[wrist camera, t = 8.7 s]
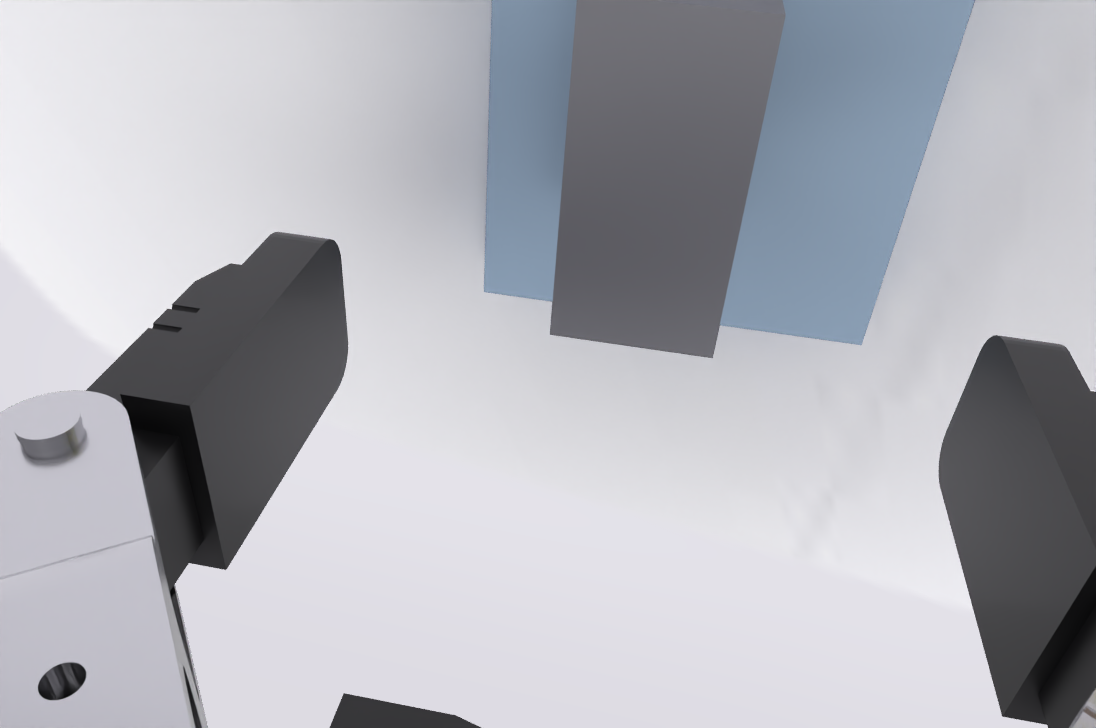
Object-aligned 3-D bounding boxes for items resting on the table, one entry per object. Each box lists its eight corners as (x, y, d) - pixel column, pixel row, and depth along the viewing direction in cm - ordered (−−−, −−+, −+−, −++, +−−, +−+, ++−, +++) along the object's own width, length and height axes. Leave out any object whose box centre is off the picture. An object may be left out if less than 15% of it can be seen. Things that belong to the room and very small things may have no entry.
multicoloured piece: (1022, -229, 17) (1200, -210, 10) (853, 309, 24) (899, 512, 18) (516, -270, 18) (404, -276, 11) (497, 261, 25) (420, 437, 18)
